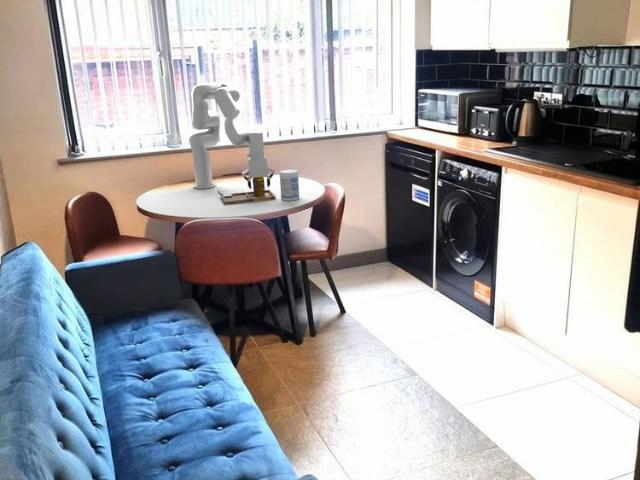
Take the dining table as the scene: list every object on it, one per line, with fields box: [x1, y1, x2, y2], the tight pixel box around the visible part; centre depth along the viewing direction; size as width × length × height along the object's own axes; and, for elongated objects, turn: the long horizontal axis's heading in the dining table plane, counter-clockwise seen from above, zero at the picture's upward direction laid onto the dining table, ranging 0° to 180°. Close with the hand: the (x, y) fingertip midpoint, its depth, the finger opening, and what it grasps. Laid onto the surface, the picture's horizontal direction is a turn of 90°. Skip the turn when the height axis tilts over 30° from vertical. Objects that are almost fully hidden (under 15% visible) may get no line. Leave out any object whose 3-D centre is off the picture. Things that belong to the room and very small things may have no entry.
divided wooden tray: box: [220, 189, 276, 206], centre depth 311 cm, size 16×26×2 cm, turn 105°
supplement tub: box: [279, 169, 300, 202], centre depth 305 cm, size 10×10×15 cm
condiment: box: [249, 177, 268, 198], centre depth 311 cm, size 7×8×12 cm
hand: (259, 187), depth 312 cm, fingers open, 9 cm apart
